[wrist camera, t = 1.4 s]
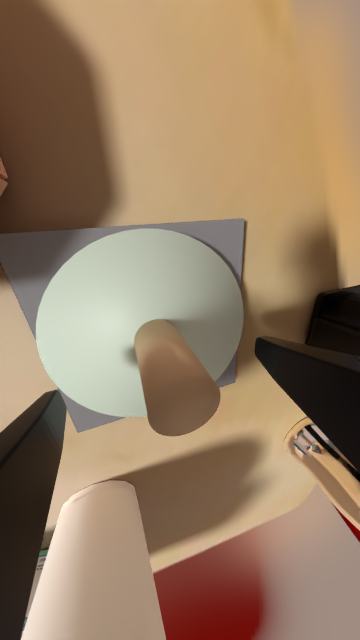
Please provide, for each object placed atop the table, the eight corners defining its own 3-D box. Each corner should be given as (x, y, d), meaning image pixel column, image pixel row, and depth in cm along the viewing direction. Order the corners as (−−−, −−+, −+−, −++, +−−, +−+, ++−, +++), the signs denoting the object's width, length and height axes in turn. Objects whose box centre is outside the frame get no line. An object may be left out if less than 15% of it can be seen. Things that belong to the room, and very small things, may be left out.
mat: (238, 219, 11) (244, 218, 10) (231, 377, 16) (235, 382, 15) (-4, 235, 8) (-13, 234, 7) (79, 425, 13) (77, 432, 12)
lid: (241, 222, 10) (360, 202, 5) (233, 381, 15) (292, 450, 10) (-4, 239, 8) (-249, 232, 2) (80, 429, 12) (55, 561, 7)
